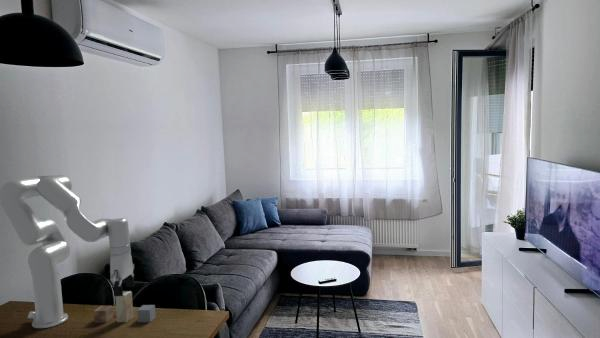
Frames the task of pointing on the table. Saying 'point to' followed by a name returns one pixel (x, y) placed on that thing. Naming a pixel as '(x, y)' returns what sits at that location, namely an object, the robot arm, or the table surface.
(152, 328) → the table surface
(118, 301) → the box
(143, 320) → the grey cube
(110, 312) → the tan cube
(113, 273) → the robot arm
